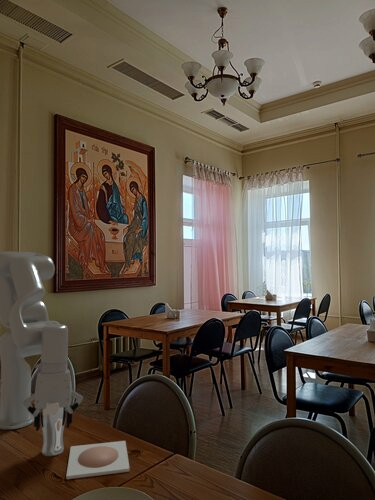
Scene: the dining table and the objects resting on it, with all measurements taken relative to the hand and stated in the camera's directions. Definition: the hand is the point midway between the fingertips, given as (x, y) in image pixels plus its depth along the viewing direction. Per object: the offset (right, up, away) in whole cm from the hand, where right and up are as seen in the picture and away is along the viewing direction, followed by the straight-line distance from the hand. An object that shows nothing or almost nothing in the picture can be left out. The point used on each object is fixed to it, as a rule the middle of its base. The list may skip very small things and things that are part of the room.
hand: (53, 427), depth 110 cm
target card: (+15, -7, -5) cm, 17 cm away
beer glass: (0, -7, 0) cm, 7 cm away
